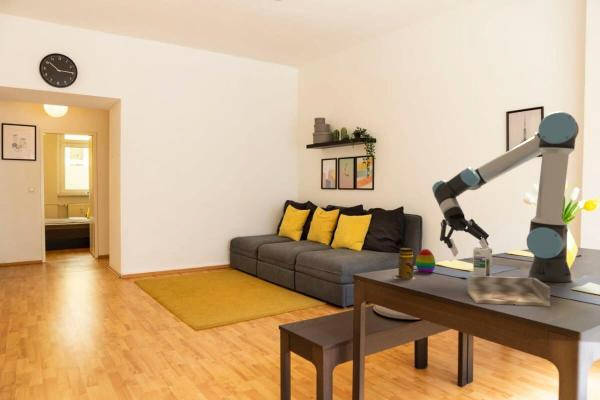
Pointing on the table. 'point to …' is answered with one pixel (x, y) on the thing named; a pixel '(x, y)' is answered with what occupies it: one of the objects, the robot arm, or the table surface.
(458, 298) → the table surface
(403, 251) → the condiment
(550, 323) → the table surface
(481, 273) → the syrup box
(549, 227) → the robot arm
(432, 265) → the decorative egg
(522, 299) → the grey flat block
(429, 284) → the table surface
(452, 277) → the table surface
